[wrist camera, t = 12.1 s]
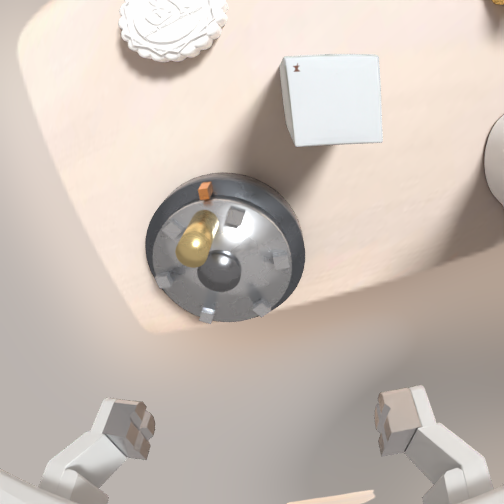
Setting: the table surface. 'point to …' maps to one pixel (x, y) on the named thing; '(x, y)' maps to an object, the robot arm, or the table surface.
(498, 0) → the rubber stamp
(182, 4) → the mooncake
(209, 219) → the studded round base
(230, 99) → the table surface
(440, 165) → the table surface
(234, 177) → the grey round platform
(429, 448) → the robot arm
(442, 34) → the table surface
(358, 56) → the supplement box
